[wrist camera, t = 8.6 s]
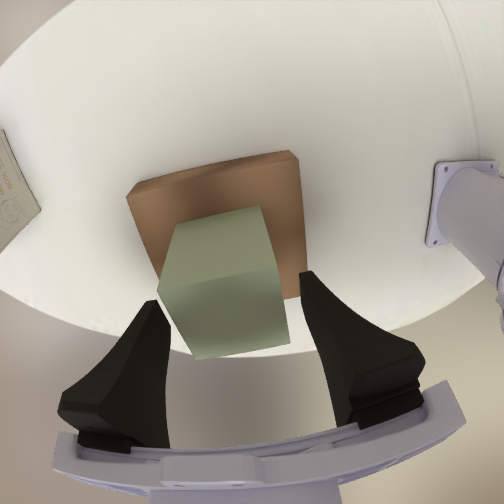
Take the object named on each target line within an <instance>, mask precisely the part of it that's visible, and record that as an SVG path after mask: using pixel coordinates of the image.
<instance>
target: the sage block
mask: <svg viewBox="0 0 504 504" xmlns="http://www.w3.org/2000/svg"><path fill="white" fill-rule="evenodd" d="M157 292H158V294H159V296H160V298H161V300H162V302H163V304H164V305H165V307H166V309H167V311H168V313H169V315H170V316H171V318H172V320H173V322H174V324H175V325H176V327H177V329H178V331H179V332H180V334H181V336H182V338H183V339H184V341H185V343H186V344H187V346H188V348H189V349H190V351H191V353H192V354H193V356H194V358H195V359H196V360H201V359H208V358H215V357H221V356H227V355H233V354H239V353H245V352H250V351H256V350H261V349H266V348H271V347H276V346H280V345H285V344H289V343H290V337H289V331H288V325H287V319H286V313H285V307H284V301H283V295H282V289H281V284H280V278H279V272H278V267H277V263H276V259H275V256H274V252H273V249H272V246H271V242H270V239H269V235H268V232H267V228H266V225H265V222H264V218H263V215H262V212H261V208H260V205H257V206H252V207H247V208H243V209H238V210H234V211H230V212H225V213H221V214H217V215H212V216H208V217H204V218H200V219H196V220H192V221H188V222H184V223H180V224H176V227H175V230H174V233H173V236H172V239H171V243H170V246H169V249H168V253H167V256H166V259H165V263H164V266H163V270H162V273H161V277H160V281H159V284H158V288H157Z"/></svg>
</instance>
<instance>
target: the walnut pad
mask: <svg viewBox="0 0 504 504" xmlns="http://www.w3.org/2000/svg"><path fill="white" fill-rule="evenodd" d="M126 199H127V202H128V205H129V207H130V210H131V213H132V216H133V218H134V221H135V223H136V226H137V229H138V231H139V234H140V236H141V239H142V241H143V244H144V246H145V248H146V251H147V253H148V256H149V258H150V260H151V263H152V265H153V267H154V269H155V272H156V274H157V276H158V278H159V281H160V277H161V273H162V270H163V266H164V263H165V259H166V256H167V253H168V249H169V246H170V243H171V239H172V236H173V233H174V230H175V227H176V224H180V223H184V222H188V221H192V220H196V219H200V218H204V217H208V216H212V215H217V214H221V213H225V212H230V211H234V210H238V209H243V208H247V207H252V206H257V205H260V208H261V212H262V215H263V218H264V222H265V225H266V228H267V232H268V235H269V239H270V242H271V246H272V249H273V252H274V256H275V259H276V263H277V267H278V272H279V278H280V284H281V289H282V295H283V300H285V299H290V298H295V297H299V296H301V295H300V283H299V273H301V272H306V271H307V254H306V239H305V225H304V213H303V201H302V190H301V180H300V171H299V162H298V159H297V158H296V157H295V156H294V155H293V154H292V153H291V152H290V151H289V150H287V151H280V152H274V153H267V154H261V155H256V156H250V157H244V158H239V159H234V160H229V161H224V162H219V163H214V164H210V165H205V166H201V167H196V168H192V169H188V170H184V171H180V172H176V173H172V174H168V175H164V176H160V177H157V178H153V179H149V180H146V181H142V182H139V183H137V184H136V185H135V186H134V187H133V189H132V190H131V191H130V192H129V194H128V195H127V196H126Z"/></svg>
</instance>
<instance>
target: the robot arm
mask: <svg viewBox="0 0 504 504" xmlns="http://www.w3.org/2000/svg"><path fill="white" fill-rule="evenodd" d="M444 168H445V170H444ZM498 171H499V163H498V162H497V161H495V160H487V161H457V162H440V163H438V164H437V165H436V168H435V179H434V189H433V198H432V206H431V213H430V220H429V226H428V232H427V238H426V245H427V246H428V247H429V248H431V247H434V246H438V245H442V244H445V243H449V242H451V243H452V244H453V245H454V246H455V247H456V248H457V249H458V250H460V251H461V252H462V253H463V254H464V255H465V256H466V257H467V258H468V259H469V260H470V261H471V262H472V263H473V265H474V266H475V267H476V268H477V269H478V270H479V271H480V272H481V273H482V274H483V275H484V276H485V277H486V278H487V279H488V281H489V282H490V283H491V284H492V285H493V286H494V287H495V288H496V290H497V291H498V295H497V298H496V302H497V303H498V304H499V305H500V307H501V308H502V310H501V314H500V324H501V328H502V331H503V334H504V175H503V174H501V173H499V172H498ZM299 283H300V295H301V304H302V308H303V312H304V316H305V319H306V322H307V325H308V327H309V330H310V332H311V335H312V338H313V340H314V343H315V345H316V348H317V350H318V353H319V355H320V358H321V361H322V365H323V368H324V372H325V375H326V380H327V383H328V388H329V392H330V397H331V401H332V406H333V410H334V415H335V420H336V425H337V428H334V429H330V430H327V431H323V432H318V433H315V434H310V435H305V436H301V437H296V438H291V439H285V440H280V441H274V442H267V443H260V444H253V445H244V446H233V447H221V448H201V449H170V443H169V436H168V429H167V419H166V402H165V385H166V375H167V366H168V360H169V352H170V345H171V326H170V324H169V322H168V320H167V318H166V316H165V315H164V313H163V311H162V309H161V307H160V305H159V303H158V301H157V300H151V301H146V302H145V303H144V305H143V306H142V308H141V309H140V310H139V312H138V313H137V315H136V316H135V318H134V319H133V321H132V322H131V324H130V325H129V326H128V328H127V329H126V331H125V332H124V334H123V335H122V336H121V338H120V339H119V340H118V342H117V343H116V344H115V346H114V347H113V348H112V349H111V350H110V352H109V353H108V354H107V355H106V356H105V357H104V358H103V359H102V361H100V362H99V363H98V364H97V365H96V366H95V367H94V368H93V369H92V370H91V371H90V372H89V373H88V374H87V375H85V376H84V377H83V378H82V379H81V380H79V381H78V382H77V383H75V384H74V385H73V386H71V387H70V388H68V389H67V390H65V391H64V392H63V393H62V396H61V400H60V403H59V407H58V411H57V412H58V415H59V416H60V417H61V418H62V419H63V420H64V421H66V422H67V423H69V424H70V425H72V426H73V427H74V428H76V429H77V430H79V434H78V435H76V434H73V433H70V432H65V431H59V432H58V436H57V441H56V446H55V451H54V457H53V462H52V469H53V470H55V471H57V472H59V473H62V474H64V475H66V476H68V477H71V478H73V479H75V480H78V481H80V482H83V483H87V484H90V485H94V486H98V487H101V488H106V489H109V490H114V491H118V492H123V493H127V494H132V495H137V496H143V497H149V498H150V504H342V500H341V496H340V492H339V487H338V485H341V484H344V483H348V482H351V481H354V480H357V479H360V478H363V477H366V476H368V475H371V474H374V473H376V472H379V471H381V470H384V469H386V468H389V467H391V466H393V465H396V464H398V463H400V462H402V461H405V460H407V459H409V458H411V457H413V456H415V455H417V454H419V453H421V452H423V451H425V450H427V449H429V448H431V447H433V446H435V445H437V444H439V443H440V442H442V441H444V440H445V439H447V438H448V437H449V436H451V435H452V434H453V433H454V432H456V431H457V430H458V429H460V428H461V427H462V426H463V425H465V424H466V422H467V421H466V419H465V417H464V415H463V412H462V410H461V408H460V406H459V404H458V402H457V400H456V397H455V395H454V393H453V391H452V389H451V388H450V385H449V383H448V382H447V381H446V380H444V381H442V382H440V383H438V384H436V385H434V386H432V387H430V388H428V389H426V390H424V391H423V392H422V393H421V392H420V390H419V387H420V383H419V381H418V377H419V375H420V374H421V372H422V370H423V368H424V366H425V359H424V357H423V355H422V353H421V352H420V350H419V349H418V347H417V346H416V345H415V343H414V342H411V341H408V340H405V339H403V338H400V337H397V336H395V335H393V334H391V333H389V332H387V331H385V330H383V329H381V328H379V327H377V326H376V325H374V324H372V323H370V322H369V321H367V320H366V319H364V318H363V317H361V316H360V315H358V314H357V313H356V312H354V311H353V310H352V309H350V308H349V307H348V306H347V305H346V304H344V303H343V302H342V301H341V300H340V299H339V298H338V297H336V296H335V295H334V294H333V293H332V292H331V291H330V290H329V289H328V288H327V287H326V286H325V285H324V284H323V283H322V282H321V281H320V279H319V278H318V277H317V276H316V275H315V274H314V272H312V271H306V272H301V273H299Z"/></svg>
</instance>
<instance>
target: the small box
mask: <svg viewBox="0 0 504 504" xmlns="http://www.w3.org/2000/svg"><path fill="white" fill-rule="evenodd" d="M39 213H40V208H39V206H38V204H37V202H36V201H35V199H34V197H33V195H32V193H31V191H30V189H29V187H28V186H27V184H26V182H25V179H24V177H23V175H22V173H21V171H20V169H19V167H18V165H17V163H16V160H15V158H14V156H13V154H12V151H11V149H10V147H9V144H8V142H7V139H6V137H5V134H4V132H3V130H0V253H1V252H2V251H3V250H4V249H5V248H6V247H7V245H8V244H9V243H10V242H11V241H12V240H13V239H14V238H15V237H16V236H17V235H18V233H19V232H20V231H21V230H22V229H23V228H24V227H25V226H26V225H27V224H28V223H29V222H30V221H31V220H32V219H33V218H34V217H35V216H37V215H38V214H39Z"/></svg>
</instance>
